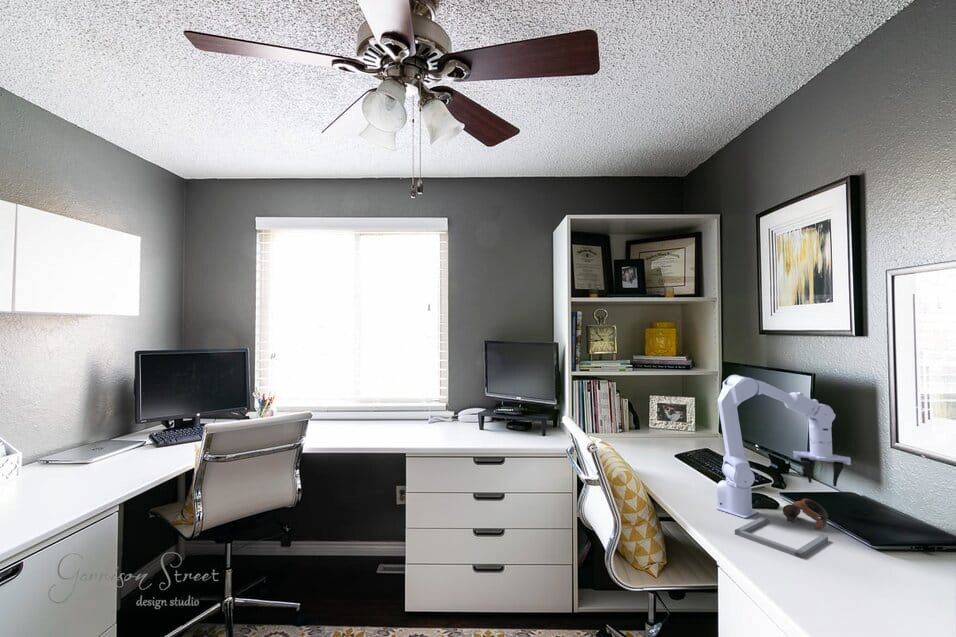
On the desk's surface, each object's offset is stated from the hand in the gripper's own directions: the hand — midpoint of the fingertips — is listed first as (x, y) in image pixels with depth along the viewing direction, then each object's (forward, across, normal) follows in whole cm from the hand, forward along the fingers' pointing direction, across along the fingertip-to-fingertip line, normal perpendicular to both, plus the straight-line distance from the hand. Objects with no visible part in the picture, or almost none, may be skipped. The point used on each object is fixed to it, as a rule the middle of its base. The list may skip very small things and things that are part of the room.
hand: (822, 483), depth 145 cm
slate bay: (+9, -10, -26) cm, 30 cm away
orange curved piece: (+10, -5, -12) cm, 17 cm away
